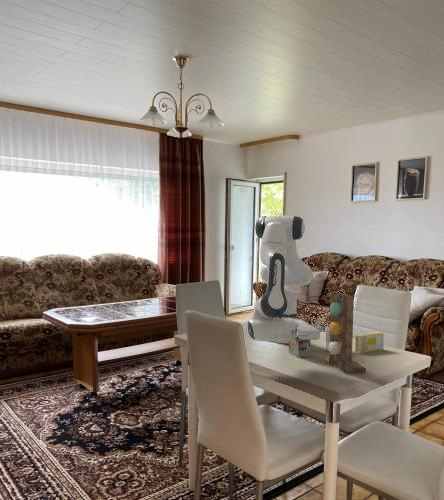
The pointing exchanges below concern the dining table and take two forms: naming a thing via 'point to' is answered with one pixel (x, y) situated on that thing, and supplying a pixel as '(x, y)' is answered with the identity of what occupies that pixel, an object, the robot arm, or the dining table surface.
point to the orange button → (335, 328)
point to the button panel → (344, 335)
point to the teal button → (336, 308)
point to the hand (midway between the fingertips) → (321, 328)
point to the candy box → (369, 342)
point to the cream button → (335, 348)
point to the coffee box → (300, 343)
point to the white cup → (327, 337)
